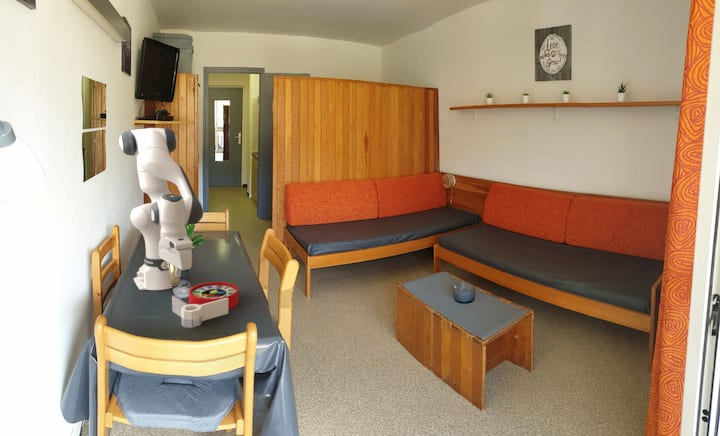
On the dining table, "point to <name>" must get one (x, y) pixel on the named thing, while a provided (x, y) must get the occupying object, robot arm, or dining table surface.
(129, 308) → the dining table surface
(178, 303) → the hinge leaf
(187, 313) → the hinge leaf
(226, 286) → the toy clock
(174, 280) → the hinge pin
